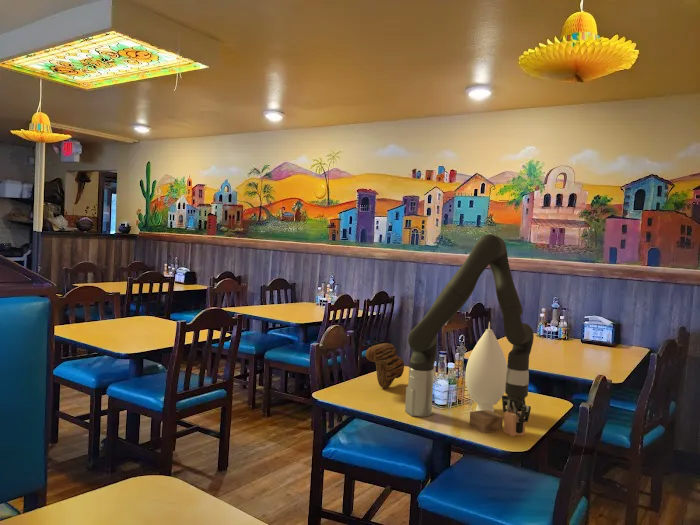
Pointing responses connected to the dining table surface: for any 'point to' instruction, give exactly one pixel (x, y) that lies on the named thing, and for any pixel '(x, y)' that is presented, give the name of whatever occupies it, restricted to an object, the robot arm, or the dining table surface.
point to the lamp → (486, 372)
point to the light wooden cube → (512, 424)
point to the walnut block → (486, 421)
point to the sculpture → (385, 363)
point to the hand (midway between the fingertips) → (514, 429)
